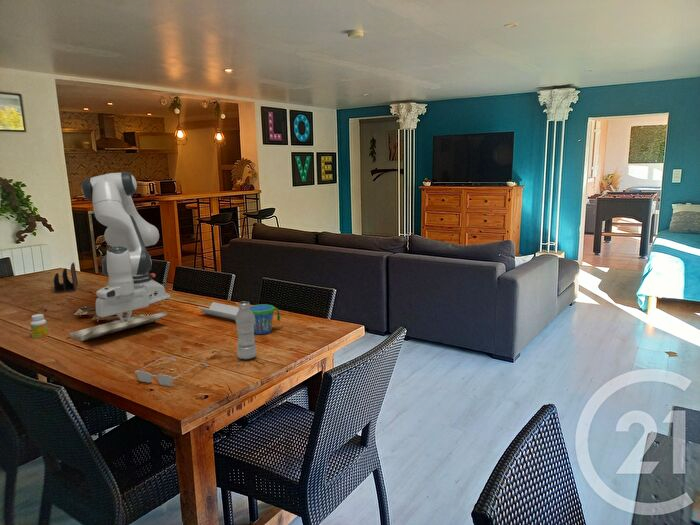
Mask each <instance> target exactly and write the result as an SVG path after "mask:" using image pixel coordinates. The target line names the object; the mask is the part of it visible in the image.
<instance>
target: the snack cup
mask: <svg viewBox="0 0 700 525" xmlns="http://www.w3.org/2000/svg"><path fill="white" fill-rule="evenodd" d="M249 309H250V310H251V311H252V312H253V314H254V316H255V322H254V334H256V335H265V334H269V333H271V331H272V328H273V319H274V312H275V310H276V311H277V318H276V320H277V322H280V321H281V313H280V310H279V308H277V307H275V306H274V305H272V304H265V303H264V304H263V303H261V304H254V305H250V308H249Z"/></svg>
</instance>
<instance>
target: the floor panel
mask: <svg viewBox="0 0 700 525" xmlns="http://www.w3.org/2000/svg"><path fill="white" fill-rule="evenodd" d="M146 316H147V315H145V314H137V315H134V316H130V321H131V320H135V319H138V318H142V317H146ZM119 323H121V320H120V319H119V320H115V321H109V322H105V323H102V324H99V325H96V326H91V327H87V328H83V329H80V330H79V329H78V330H75V331H71V332H69V337H71V338H73V339H75V340H77V341H79V342H80V341H81V337H82V336H84V335H86V334H87V333H89V332H91V331H93V330H96V329H100V328H104V327H108V326H112V325H116V324H119ZM81 342H82V341H81Z"/></svg>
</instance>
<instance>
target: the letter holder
mask: <svg viewBox="0 0 700 525" xmlns="http://www.w3.org/2000/svg"><path fill="white" fill-rule="evenodd" d="M75 265H76V264H75V262H72V263H71V264H70V274H71V280H72V282H71V281H70V279H69V277H68V271H67V270H68V269H67V268H63V270H62V276H61V277H62V282H63V283H60V277H59V276H60V275H59V273H57V272H56V273H55V275H54V277H53V287H54V288H53V289H54V294H55V293H57V294H64V293H73V292H74V293H75V292H76V291H77V287H78V282H79V281H78V277H77V270H76V266H75Z"/></svg>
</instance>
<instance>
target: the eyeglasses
mask: <svg viewBox="0 0 700 525" xmlns="http://www.w3.org/2000/svg"><path fill="white" fill-rule="evenodd" d="M164 359H168V360H170V361H172V362H177V359H175V358H172V357H161V358H159V359H157V360H155V361H153V362H151V363H149V364H147V365H146V366H144V367H142V368H141V369H138V370H135V371H134V374H136V377H137V378H138V380H139V381H140V382H144V383H149V384H150V383H151V382H152V380H153V378H154V377H156V379H157V382H158V383H159V385H161V386H167V387H171V386H172V383H173V381H174V380H176V379H178V378H179V377H180V376H181V375H183V374H185V373H186V372H188V371H190V370H191V369H193V368H195V367H196V366H198V365H199V364H202V365H204V366H205V367H208V366H209V363H207V362H199V363H197V364H195V365H194V366H192V367H191V368H189V369H188V370H187V371H186V370H185V371H184V372H183V373H181V374H178V375H176V376H175V377H172V376H170V375H167V374H157V375H156V374H151V373H150V372H147V371H143V369H144V368H146V367H149V366H150V365H151V364H153V363H156V362H157V361H158V362H159V361H160V360H164Z"/></svg>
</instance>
